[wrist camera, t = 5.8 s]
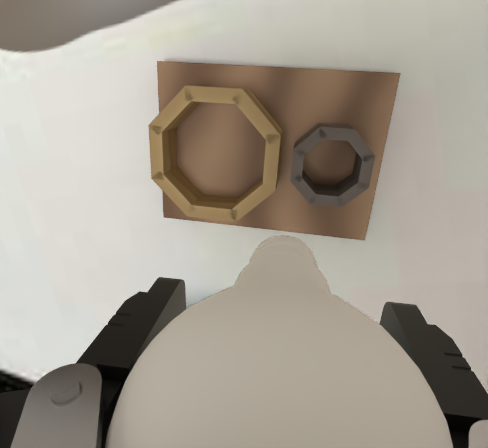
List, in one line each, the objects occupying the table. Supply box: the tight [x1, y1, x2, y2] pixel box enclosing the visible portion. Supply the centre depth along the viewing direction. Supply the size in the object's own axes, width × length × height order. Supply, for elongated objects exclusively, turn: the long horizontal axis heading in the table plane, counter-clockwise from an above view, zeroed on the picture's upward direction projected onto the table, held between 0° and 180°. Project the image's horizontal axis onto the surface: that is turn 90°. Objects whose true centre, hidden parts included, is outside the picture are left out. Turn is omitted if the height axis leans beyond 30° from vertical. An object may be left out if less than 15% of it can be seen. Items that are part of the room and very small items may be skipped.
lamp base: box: [149, 61, 400, 240], centre depth 26 cm, size 18×13×4 cm
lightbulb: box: [105, 236, 453, 448], centre depth 9 cm, size 6×6×11 cm
